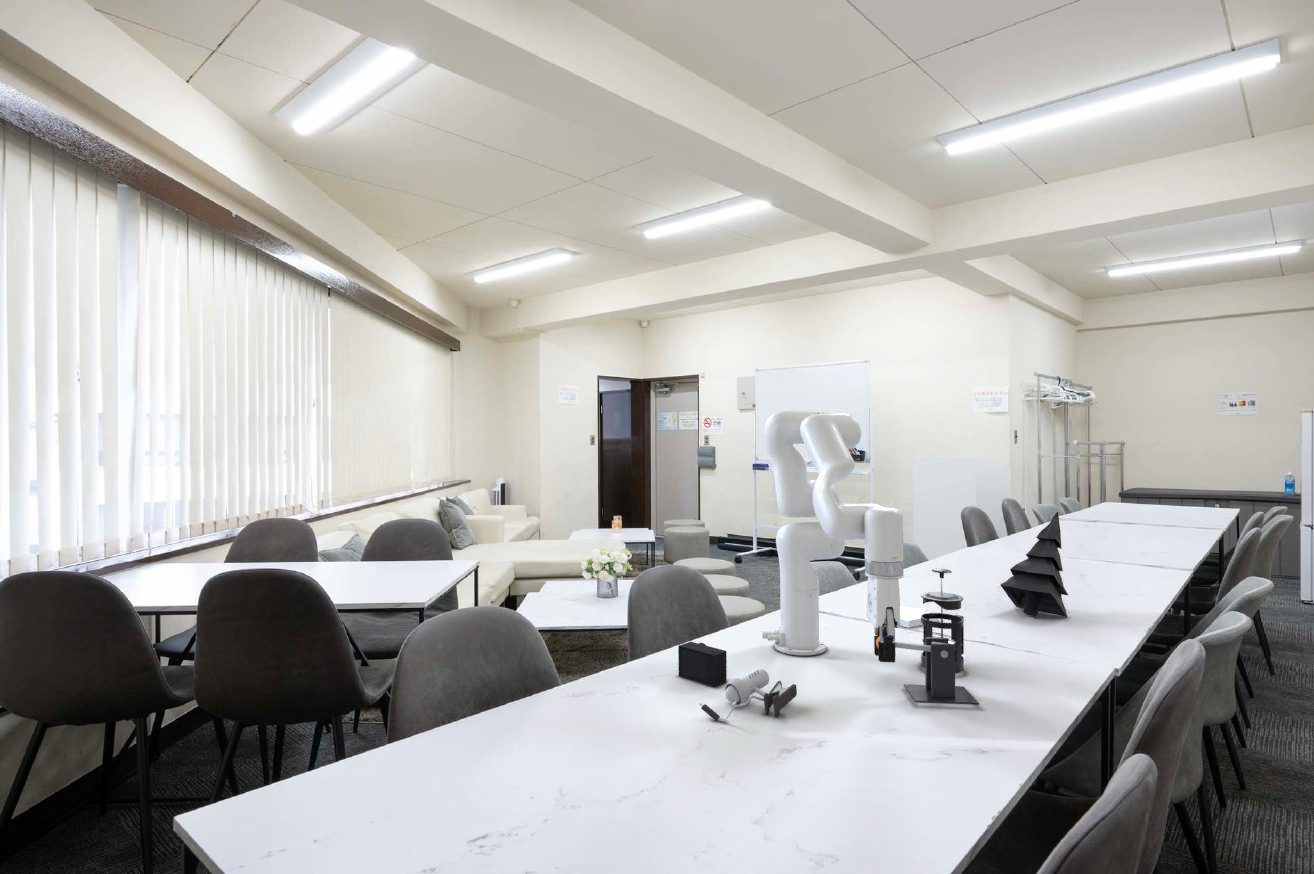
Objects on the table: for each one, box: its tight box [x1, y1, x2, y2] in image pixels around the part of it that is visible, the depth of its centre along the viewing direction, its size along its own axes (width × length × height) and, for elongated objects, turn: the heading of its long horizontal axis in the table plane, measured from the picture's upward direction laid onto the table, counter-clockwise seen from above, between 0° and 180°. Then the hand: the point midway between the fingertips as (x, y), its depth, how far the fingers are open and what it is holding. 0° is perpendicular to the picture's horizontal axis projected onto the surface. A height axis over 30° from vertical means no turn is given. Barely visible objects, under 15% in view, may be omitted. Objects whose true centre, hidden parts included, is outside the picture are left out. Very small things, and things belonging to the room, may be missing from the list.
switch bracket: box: [903, 636, 980, 706], centre depth 138 cm, size 12×9×12 cm
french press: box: [920, 568, 965, 674], centre depth 155 cm, size 12×9×23 cm
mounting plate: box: [899, 604, 939, 629], centre depth 199 cm, size 18×13×2 cm
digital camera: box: [677, 641, 728, 688], centre depth 150 cm, size 10×5×7 cm, turn 47°
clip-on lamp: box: [698, 668, 798, 722], centre depth 132 cm, size 12×6×18 cm
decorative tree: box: [999, 511, 1069, 618], centre depth 207 cm, size 15×15×35 cm
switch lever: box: [876, 636, 939, 652], centre depth 139 cm, size 14×3×3 cm, turn 84°
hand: (884, 657), depth 139 cm, fingers closed on switch lever, 3 cm apart
